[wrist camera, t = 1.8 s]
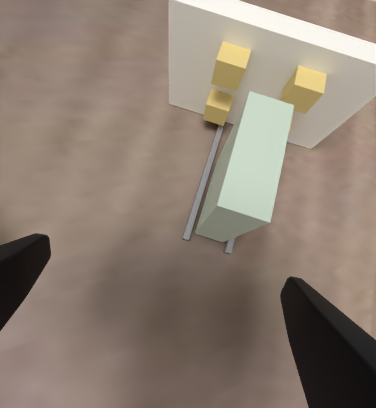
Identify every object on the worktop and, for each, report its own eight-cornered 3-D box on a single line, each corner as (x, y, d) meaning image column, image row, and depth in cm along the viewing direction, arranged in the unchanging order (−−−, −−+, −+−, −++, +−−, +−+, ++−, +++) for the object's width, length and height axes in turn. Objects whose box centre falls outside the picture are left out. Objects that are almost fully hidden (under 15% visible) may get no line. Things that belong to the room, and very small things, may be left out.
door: (232, 245, 22) (287, 228, 12) (194, 233, 22) (216, 205, 12) (249, 176, 25) (309, 110, 14) (215, 165, 25) (249, 90, 14)
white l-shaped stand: (290, 273, 22) (397, 282, 12) (121, 219, 23) (79, 179, 12) (323, 74, 30) (407, -30, 19) (197, 34, 30) (212, -91, 19)
